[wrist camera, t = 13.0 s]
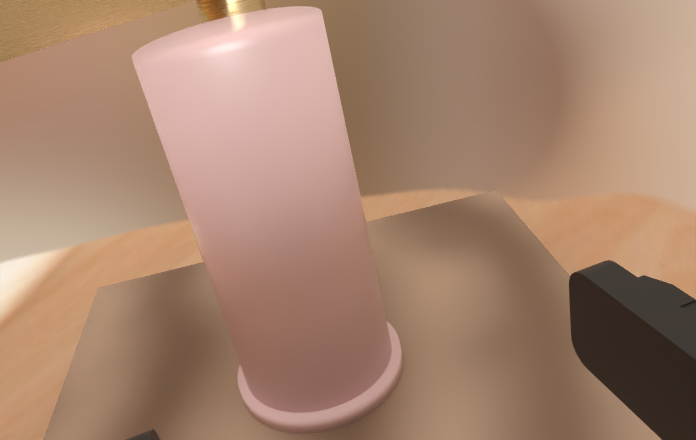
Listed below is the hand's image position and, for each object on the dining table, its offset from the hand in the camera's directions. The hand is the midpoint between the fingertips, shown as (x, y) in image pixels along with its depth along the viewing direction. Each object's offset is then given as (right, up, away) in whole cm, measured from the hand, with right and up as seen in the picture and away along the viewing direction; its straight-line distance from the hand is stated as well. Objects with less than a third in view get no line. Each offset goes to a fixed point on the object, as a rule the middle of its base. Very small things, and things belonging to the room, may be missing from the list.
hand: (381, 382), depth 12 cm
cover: (-2, -2, +11) cm, 12 cm away
